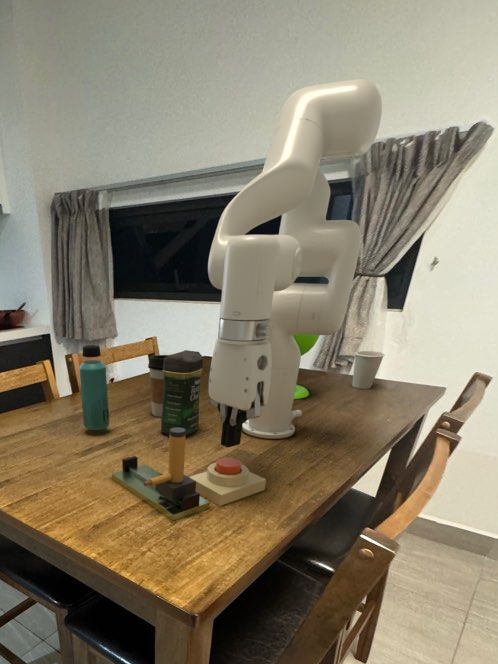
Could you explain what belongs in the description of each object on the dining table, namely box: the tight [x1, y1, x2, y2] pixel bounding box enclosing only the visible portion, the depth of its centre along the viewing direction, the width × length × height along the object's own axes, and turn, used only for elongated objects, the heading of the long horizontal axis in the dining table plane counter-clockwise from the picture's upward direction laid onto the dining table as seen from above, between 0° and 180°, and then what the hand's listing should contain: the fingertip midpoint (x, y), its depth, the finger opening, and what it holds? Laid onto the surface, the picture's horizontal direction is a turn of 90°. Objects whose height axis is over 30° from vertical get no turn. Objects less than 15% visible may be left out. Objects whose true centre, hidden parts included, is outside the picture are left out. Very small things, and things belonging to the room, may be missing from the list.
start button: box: [215, 457, 242, 475], centre depth 82 cm, size 4×4×2 cm
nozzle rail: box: [111, 455, 211, 522], centre depth 82 cm, size 8×20×4 cm, turn 33°
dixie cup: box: [351, 350, 385, 390], centre depth 141 cm, size 8×8×10 cm
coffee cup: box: [147, 354, 169, 418], centre depth 119 cm, size 8×8×15 cm
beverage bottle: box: [78, 344, 110, 431], centre depth 106 cm, size 6×7×20 cm
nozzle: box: [144, 427, 196, 504], centre depth 74 cm, size 9×5×12 cm, turn 123°
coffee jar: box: [160, 349, 204, 437], centre depth 106 cm, size 10×8×19 cm
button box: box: [188, 461, 267, 507], centre depth 83 cm, size 11×9×4 cm
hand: (230, 444), depth 79 cm, fingers closed
